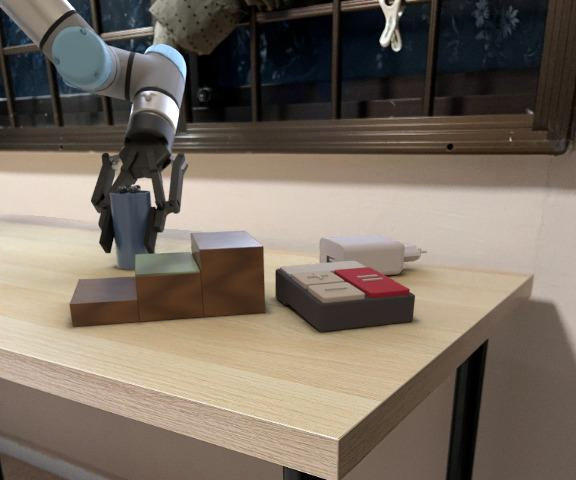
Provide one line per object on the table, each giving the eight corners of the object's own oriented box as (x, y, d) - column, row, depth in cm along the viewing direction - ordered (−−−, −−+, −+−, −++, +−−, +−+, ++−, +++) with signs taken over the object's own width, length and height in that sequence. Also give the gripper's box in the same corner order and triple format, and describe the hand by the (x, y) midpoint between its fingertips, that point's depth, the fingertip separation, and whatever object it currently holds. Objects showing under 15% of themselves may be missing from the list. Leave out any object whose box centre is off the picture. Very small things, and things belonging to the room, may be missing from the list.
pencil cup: (125, 261, 98) (117, 184, 93) (162, 262, 97) (155, 184, 92) (111, 269, 92) (101, 187, 88) (149, 270, 92) (141, 187, 87)
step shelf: (72, 326, 65) (62, 256, 62) (81, 299, 76) (72, 238, 73) (265, 312, 69) (263, 246, 67) (247, 288, 80) (245, 230, 77)
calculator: (320, 297, 61) (274, 262, 73) (319, 338, 63) (274, 296, 75) (417, 288, 64) (357, 255, 77) (413, 326, 66) (355, 289, 79)
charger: (438, 273, 88) (342, 281, 84) (408, 261, 96) (318, 268, 92) (441, 239, 86) (343, 246, 82) (410, 230, 94) (319, 236, 90)
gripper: (86, 111, 96) (54, 232, 88) (204, 109, 94) (182, 233, 85) (104, 146, 103) (75, 261, 95) (213, 145, 101) (195, 263, 92)
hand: (126, 248), depth 90 cm, fingers closed on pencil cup, 6 cm apart
